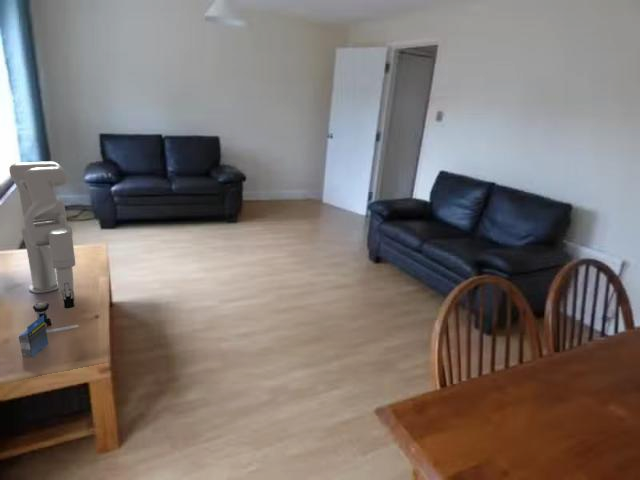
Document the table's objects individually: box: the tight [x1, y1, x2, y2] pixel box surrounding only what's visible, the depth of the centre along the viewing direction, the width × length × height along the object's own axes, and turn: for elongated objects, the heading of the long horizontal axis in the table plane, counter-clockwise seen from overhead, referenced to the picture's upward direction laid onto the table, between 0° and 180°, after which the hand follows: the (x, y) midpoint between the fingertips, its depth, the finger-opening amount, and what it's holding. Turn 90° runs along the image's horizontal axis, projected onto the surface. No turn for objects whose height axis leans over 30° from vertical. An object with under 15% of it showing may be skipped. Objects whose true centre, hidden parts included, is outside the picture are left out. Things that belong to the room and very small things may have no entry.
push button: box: [32, 301, 52, 328], centre depth 164 cm, size 7×5×10 cm
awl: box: [61, 290, 76, 310], centre depth 162 cm, size 4×4×10 cm
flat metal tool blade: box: [46, 324, 79, 334], centre depth 165 cm, size 2×13×1 cm, turn 122°
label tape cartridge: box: [18, 315, 49, 358], centre depth 150 cm, size 9×4×12 cm, turn 178°
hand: (69, 304), depth 163 cm, fingers closed on awl, 4 cm apart
